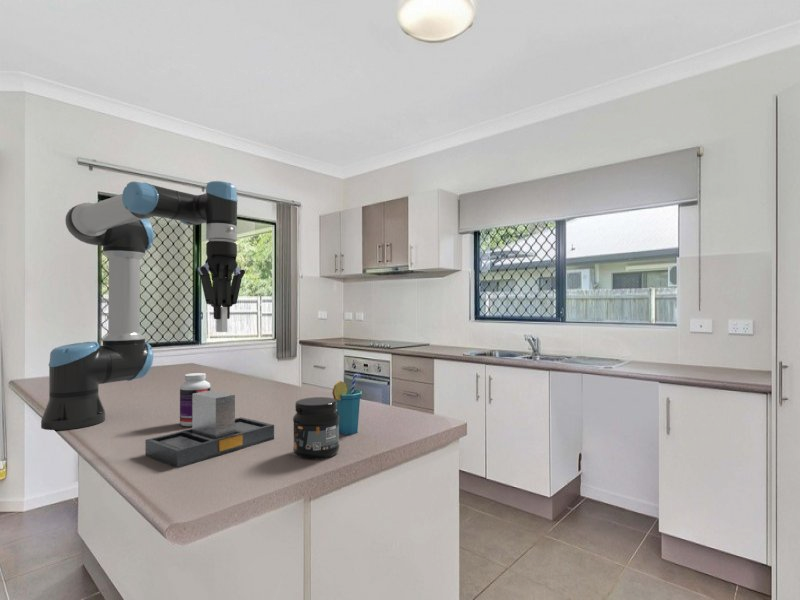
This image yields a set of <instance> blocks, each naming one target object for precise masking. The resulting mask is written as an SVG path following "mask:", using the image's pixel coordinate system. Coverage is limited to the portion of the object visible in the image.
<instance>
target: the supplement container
mask: <svg viewBox="0 0 800 600" xmlns="http://www.w3.org/2000/svg"><path fill="white" fill-rule="evenodd" d="M294 404H295V405H294V408H295V409H294V411H295V413H294V415H293V417H292V422H293V447H292V448H293V449H292V451H293V454H294V455H295V456H296V457H298V458H300V459H303V460H311V461H312V460H314V461H315V460H323V459H327V458H330V457H332V456H334V455H336V454H337V453H338V452H339V450H340V433H339V413H338V412H337V400H336V399H334V397H328V396H315V397H306V398H301V399H299V400H296V401H295V403H294Z"/></svg>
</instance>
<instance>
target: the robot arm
mask: <svg viewBox="0 0 800 600" xmlns="http://www.w3.org/2000/svg"><path fill="white" fill-rule="evenodd" d="M237 194H238V191H237V187H236V186H235V184H232V183H231V182H227V181H222V180H221V181H220V180H213V181H209V182H208V183H207V184H206V188H205V193H203V194H191V193H188V192H183V191H179V190H175V189H172V188H171V189H170V188H166V187H163V186H158V185H154V184H151V183H148V182H140V181H135V180H134V181H130V182H128V183H127V184H126V186H125V187H124V188H123V191H122V193H121V194H118V195H115V196H112V197H110V198H106V199H103V200H100V201H98V202H97V201H96V202H95V203H92V202H82V203H79V204H76V205H75V206H73V207H71V208H70V209H69V210H68V212H67V213H66V215H65V218H64V219H65V227H66V228H67V231H68V232H69V234H71V236H73V237H74V238H75V239H77V240H78V241H80V242H83V243H85V244H87V245H93V246H100V247H102V253H103V255H105V256H106V257H107V259H108V302H107V303H108V308H107V309H108V311H107V314H108V319H107V321H108V323H107V324H108V327H107V328H108V331H107V332H108V333H107V335H106V336H104V337H103V338H102V345H100V343H99V342H97V341H86V342H85V341H84V342H75V343H70V344H64V345H61V346H58V347H55V348H53V349H52V350H51V351H50V354H49V363H48V367H49V374H48V375H49V378H48V379H49V383H48V384H49V385H48V386H49V389H48V390H49V391H48V392H49V394H48V395H49V396H48V402H47V404H46V408H45V409H44V413H43V415H42V417H41V421H40V426H41V427H40V429H43V430H46V431H60V430H61V431H62V430H63V431H64V430H72V429H79V428H80V429H81V428H87V427H90V426H94V425H98V424H101V423H103V422H105V420H106V411H105V408H104V405H103V403H102V401H101V398H100V395H99V385H102V384H111V383H116V382H118V383H119V382H125V381H127V382H129V381H134V380H139V379H141V378H144V377H145V376H146V375H147V374H148V373H149V371H150V370H151V368H152V366H153V363H154V362H153V361H154V351H153V348H152V345H150V344H149V343H148V342H146V337H145V336H144V335H143V334H142V333H141V331H140V330H141V325H140V324H141V320H140V318H141V259H142V258H144V256H145V257H146V251H148V250H150V249H151V248H152V246H153V243H154V239H155V235H154V229H153V226H152V223H151V221H150V220H149V218H154V217H155V218H163V219H169V220H175V221H179V222H181V223H182V224H183V225H188V226H197V225H202V224H205V225H206V227H205V240H207V243H205V245H206V246H205V249H206V251H205V254H206V260H205V261H204V262H205V264H203V265H201V266H198V267H196V272H197V273H198V275H199V277H200V281H201V285H202V291H203V295H204V299H205V303H206V304H207V305H210V306H211V307H213V319H214V320H215V329H216V330H215V331H216V333H228V320H229V319H230V317H231V314H230V313H231V310H230V309H231V307H233V305H236V304H237V303H238V298H239V295H240V291H241V290H240V289H241V285H242V281H243V277H244V276H245V274H246V269H242V268H240V267H239V266H238V262H237V256H238V244H237V243H236V242H237V241H238V225H237V224H238V195H237ZM210 274H211V276H210Z"/></svg>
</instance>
